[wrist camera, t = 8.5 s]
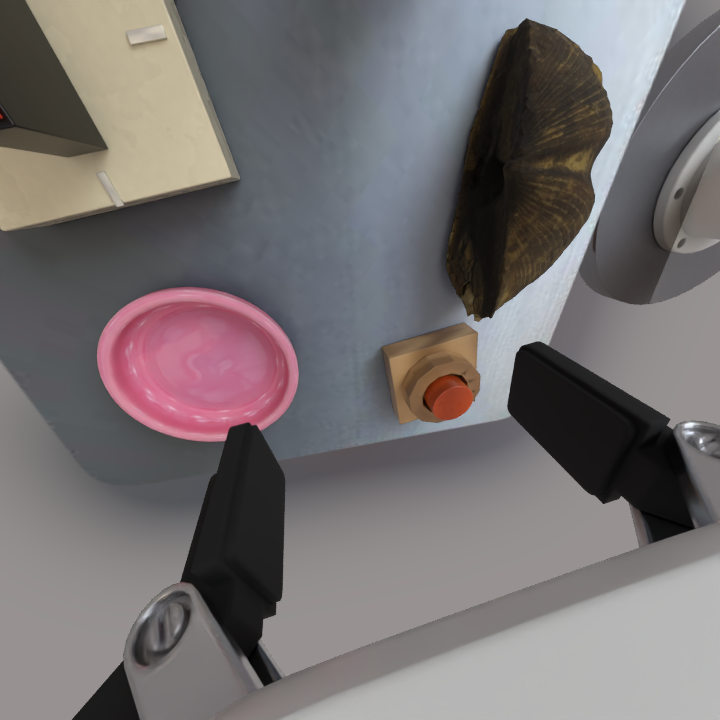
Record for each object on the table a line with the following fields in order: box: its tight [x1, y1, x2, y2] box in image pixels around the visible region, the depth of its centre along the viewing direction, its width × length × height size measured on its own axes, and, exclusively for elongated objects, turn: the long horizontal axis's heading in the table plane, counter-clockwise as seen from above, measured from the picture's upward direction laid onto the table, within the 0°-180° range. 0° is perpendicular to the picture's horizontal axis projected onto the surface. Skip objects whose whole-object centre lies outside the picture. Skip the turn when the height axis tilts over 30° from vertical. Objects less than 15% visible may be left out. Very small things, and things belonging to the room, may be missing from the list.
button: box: [425, 375, 473, 420], centre depth 23 cm, size 4×4×2 cm
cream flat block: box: [0, 0, 240, 231], centre depth 12 cm, size 11×10×3 cm
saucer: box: [97, 287, 299, 442], centre depth 20 cm, size 12×12×3 cm
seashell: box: [446, 18, 613, 322], centre depth 17 cm, size 16×9×7 cm, turn 177°
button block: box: [382, 323, 480, 424], centre depth 25 cm, size 8×8×4 cm
